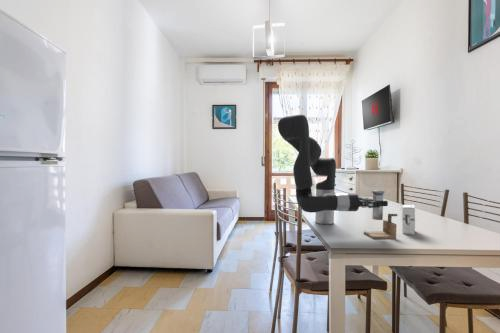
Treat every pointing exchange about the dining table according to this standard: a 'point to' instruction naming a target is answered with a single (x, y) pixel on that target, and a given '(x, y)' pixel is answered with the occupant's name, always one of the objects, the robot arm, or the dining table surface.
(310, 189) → the robot arm
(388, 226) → the block
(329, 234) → the dining table surface
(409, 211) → the ink box
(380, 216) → the steel pin
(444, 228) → the dining table surface
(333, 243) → the dining table surface
